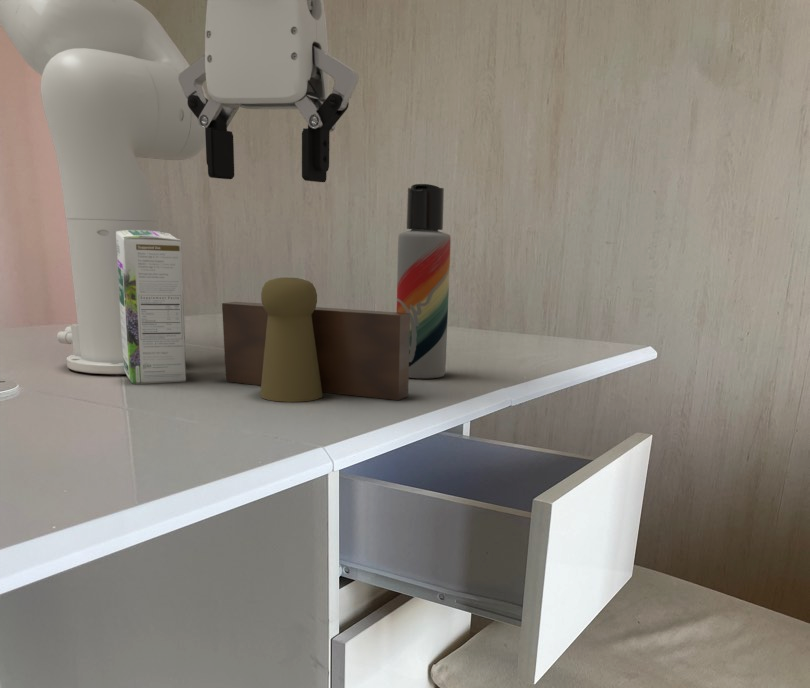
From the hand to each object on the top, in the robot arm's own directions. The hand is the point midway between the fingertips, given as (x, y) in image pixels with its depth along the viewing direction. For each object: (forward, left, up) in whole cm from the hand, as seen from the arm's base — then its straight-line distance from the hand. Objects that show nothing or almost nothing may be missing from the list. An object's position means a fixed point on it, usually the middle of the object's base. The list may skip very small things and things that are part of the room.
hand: (266, 179), depth 74 cm
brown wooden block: (+1, +6, -19) cm, 20 cm away
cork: (+1, +1, -20) cm, 20 cm away
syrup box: (-16, +2, -20) cm, 25 cm away
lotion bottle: (+7, +19, -20) cm, 28 cm away
